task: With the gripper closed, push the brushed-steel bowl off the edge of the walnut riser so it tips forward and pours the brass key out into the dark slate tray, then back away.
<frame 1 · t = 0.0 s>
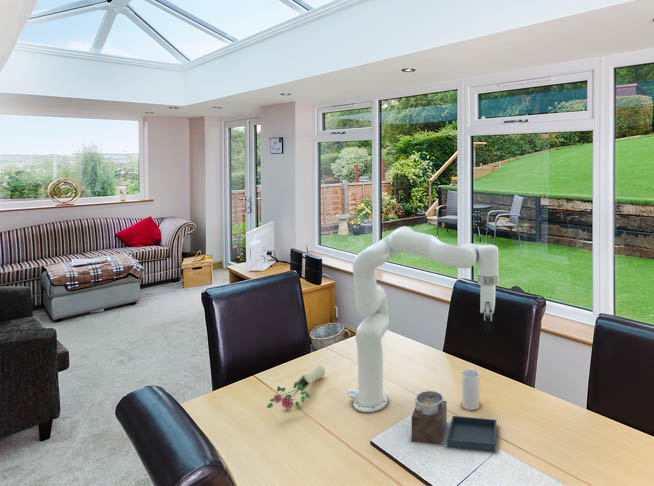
hand: (488, 326, 155), 31 cm above the table, tool pointing down, fingers open, 9 cm apart
riser: (429, 432, 143), on the table
key: (430, 404, 145), point 8 cm above the table, touching bowl
tray: (472, 436, 141), on the table
flower vase: (302, 399, 165), on the table
bowl: (429, 408, 143), point 8 cm above the table, touching key, riser
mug: (471, 403, 161), on the table
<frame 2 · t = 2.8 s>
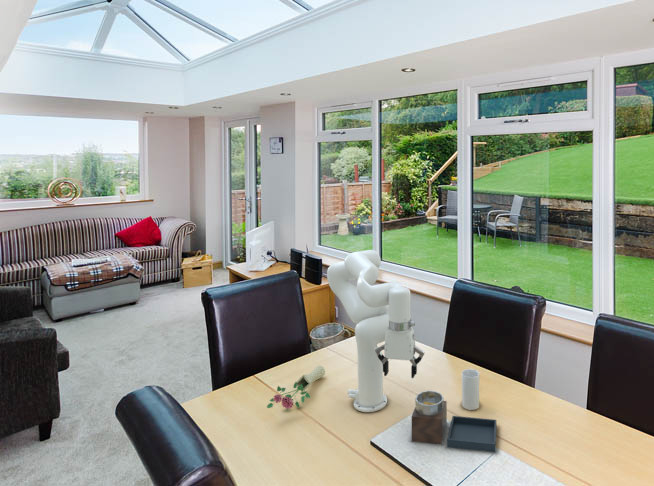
hand: (399, 375, 146), 18 cm above the table, tool pointing down, fingers open, 9 cm apart
nothing on the table moved.
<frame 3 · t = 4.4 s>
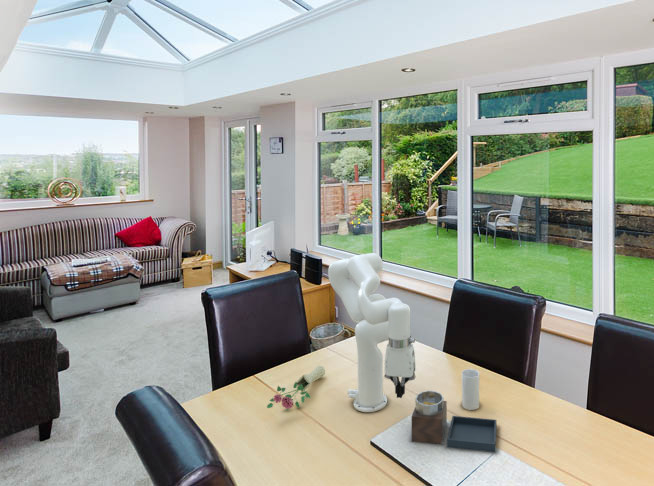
hand: (400, 395, 145), 11 cm above the table, tool pointing down, fingers closed
nothing on the table moved.
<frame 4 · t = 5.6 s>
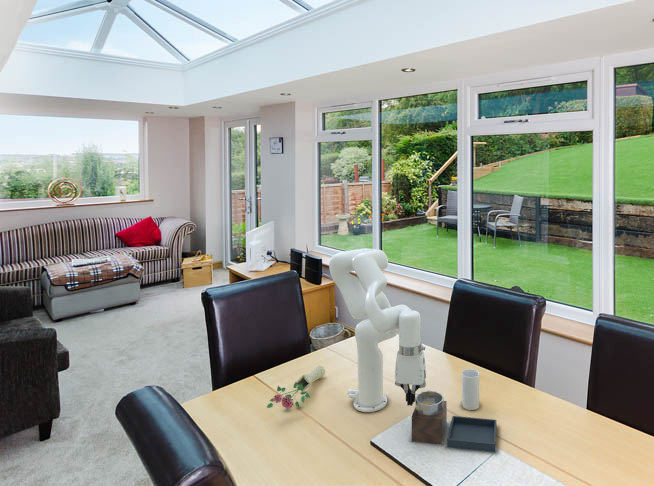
hand: (410, 403, 144), 9 cm above the table, tool pointing down, fingers closed
bowl: (429, 408, 143), point 8 cm above the table, touching gripper, key
everything else where it was.
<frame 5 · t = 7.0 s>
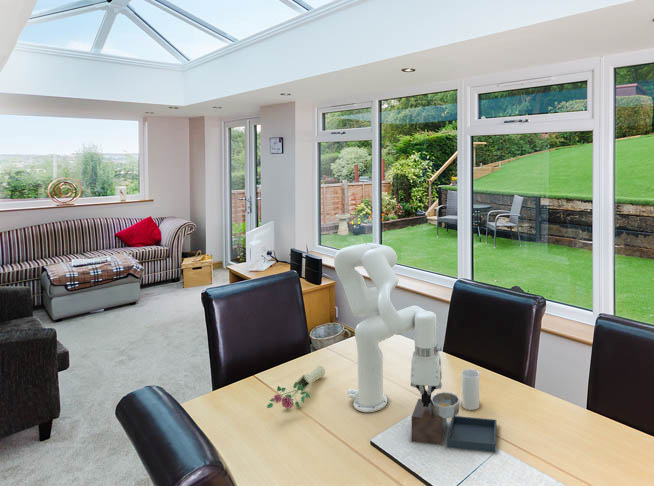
hand: (426, 404, 144), 9 cm above the table, tool pointing down, fingers closed
key: (446, 406, 144), point 8 cm above the table, touching bowl
bowl: (445, 410, 142), point 8 cm above the table, touching gripper, key, riser
everything else where it was.
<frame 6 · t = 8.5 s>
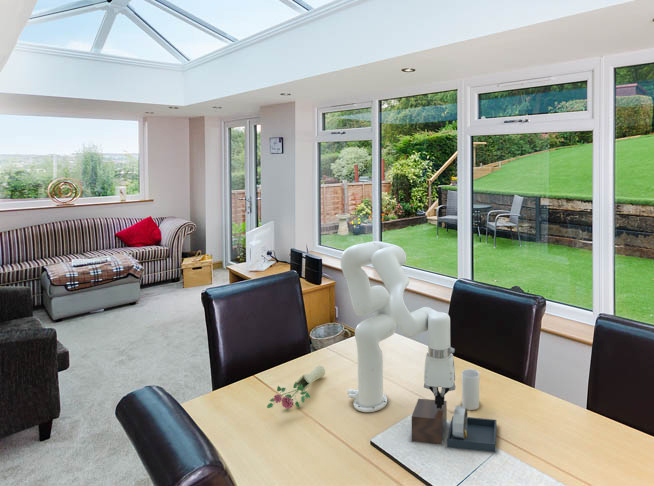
hand: (439, 406, 143), 9 cm above the table, tool pointing down, fingers closed
key: (461, 432, 140), point 2 cm above the table, tilted 98°, touching bowl
bowl: (454, 422, 140), point 5 cm above the table, tilted 90°, touching key, tray
everything else where it was.
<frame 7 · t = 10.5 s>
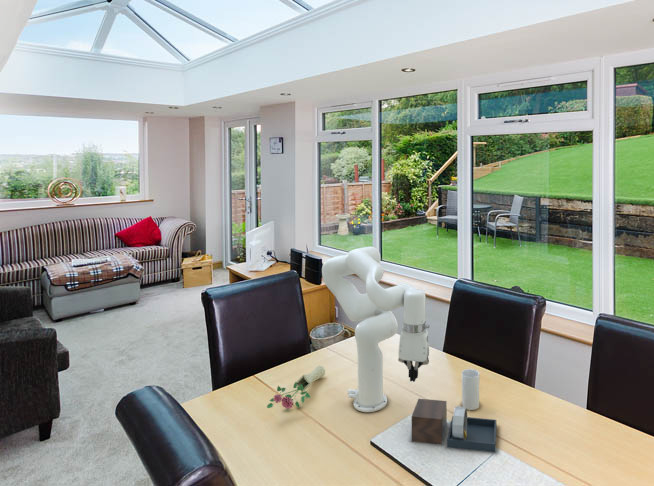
hand: (413, 379, 147), 16 cm above the table, tool pointing down, fingers closed
nothing on the table moved.
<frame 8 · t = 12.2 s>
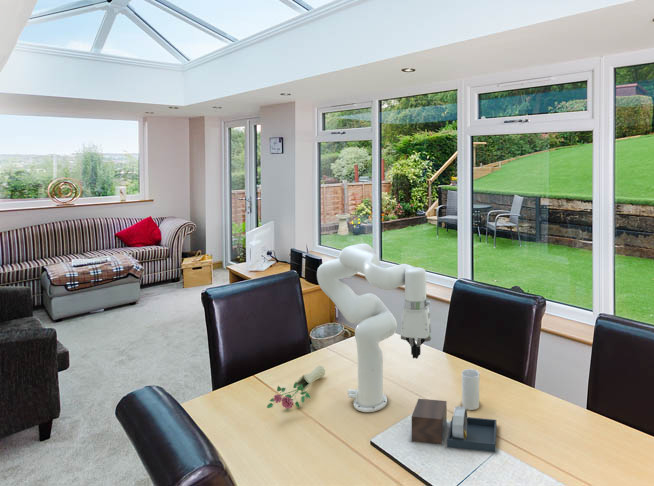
hand: (415, 356, 149), 23 cm above the table, tool pointing down, fingers closed
nothing on the table moved.
at the end: key inside the target area in the tray (3.9 cm from its centre), point 2.2 cm above the tray's base; bowl tilted 90°; bowl moved 9.4 cm from its start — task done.
